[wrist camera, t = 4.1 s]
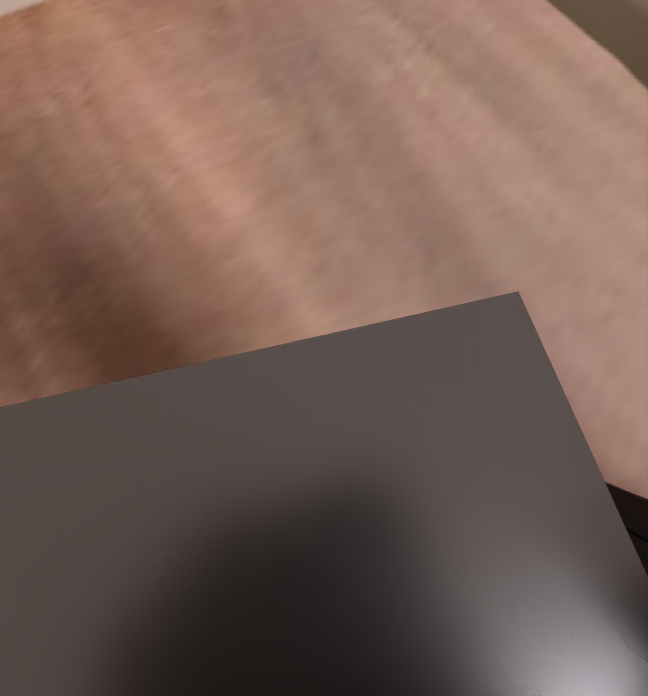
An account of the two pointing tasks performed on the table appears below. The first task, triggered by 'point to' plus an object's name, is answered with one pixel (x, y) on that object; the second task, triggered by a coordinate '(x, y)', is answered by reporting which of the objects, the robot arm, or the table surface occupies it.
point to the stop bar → (320, 526)
